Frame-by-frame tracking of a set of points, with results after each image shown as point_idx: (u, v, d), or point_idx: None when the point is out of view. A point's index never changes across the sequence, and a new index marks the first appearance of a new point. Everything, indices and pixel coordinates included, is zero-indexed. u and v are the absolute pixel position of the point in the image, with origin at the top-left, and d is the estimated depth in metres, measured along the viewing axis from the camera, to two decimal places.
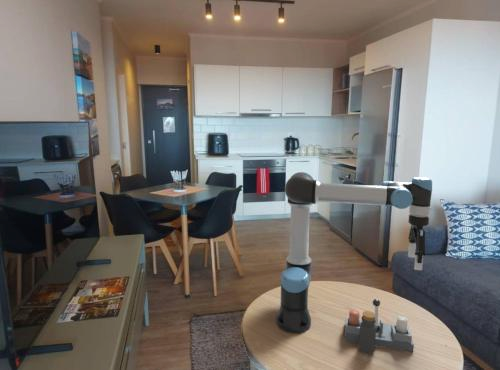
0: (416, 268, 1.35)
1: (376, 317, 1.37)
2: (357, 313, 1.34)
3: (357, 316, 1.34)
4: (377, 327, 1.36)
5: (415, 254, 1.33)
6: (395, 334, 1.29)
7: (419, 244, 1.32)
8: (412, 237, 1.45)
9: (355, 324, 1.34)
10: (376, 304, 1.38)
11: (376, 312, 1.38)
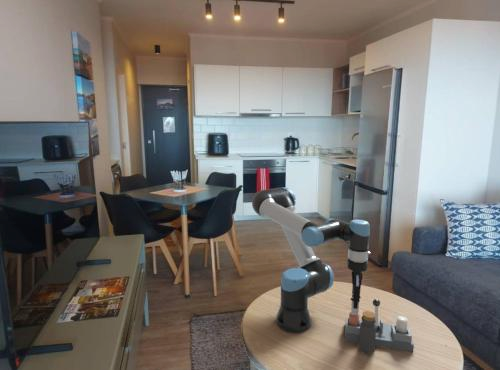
0: (353, 313, 1.35)
1: (376, 317, 1.37)
2: None
3: (357, 318, 1.34)
4: (377, 327, 1.36)
5: None
6: (395, 334, 1.29)
7: (354, 293, 1.29)
8: None
9: None
10: (376, 304, 1.38)
11: (376, 312, 1.38)
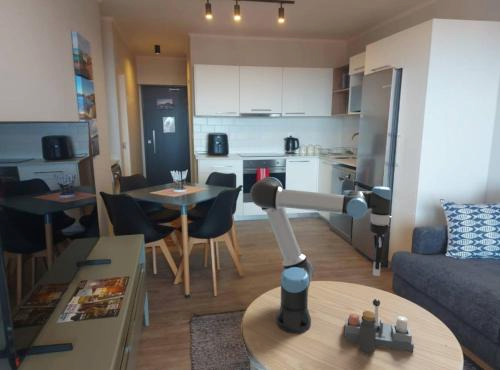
0: (374, 274, 1.45)
1: (376, 317, 1.37)
2: (357, 317, 1.35)
3: (357, 320, 1.34)
4: (377, 327, 1.36)
5: (373, 261, 1.44)
6: (395, 334, 1.29)
7: (377, 254, 1.40)
8: None
9: None
10: (376, 304, 1.38)
11: (376, 312, 1.38)
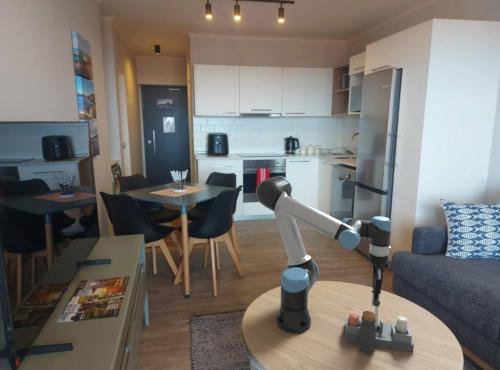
0: None
1: (376, 317, 1.37)
2: (357, 317, 1.35)
3: (357, 320, 1.34)
4: (377, 327, 1.36)
5: None
6: (395, 334, 1.29)
7: (376, 286, 1.37)
8: None
9: None
10: (376, 304, 1.38)
11: (376, 312, 1.38)
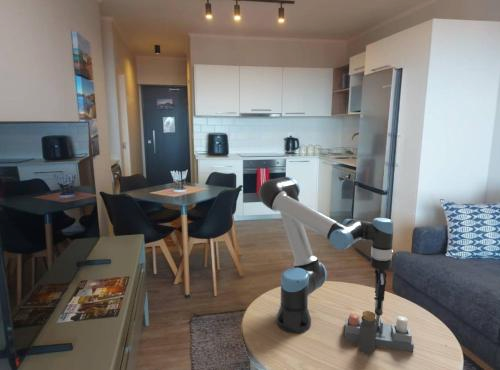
0: None
1: (377, 322, 1.34)
2: (357, 317, 1.35)
3: (357, 320, 1.34)
4: (377, 328, 1.36)
5: None
6: (395, 334, 1.29)
7: (379, 292, 1.28)
8: (377, 286, 1.33)
9: None
10: (378, 315, 1.31)
11: (377, 319, 1.33)
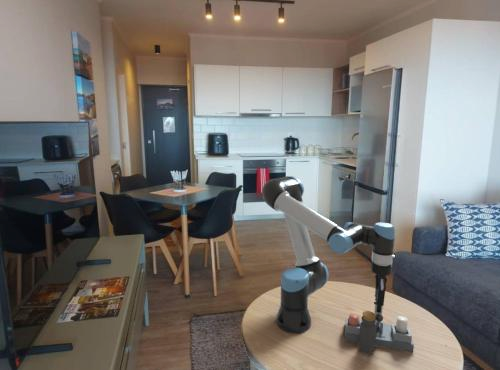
0: None
1: (377, 325, 1.33)
2: (357, 317, 1.35)
3: (357, 320, 1.34)
4: (377, 329, 1.36)
5: (374, 303, 1.32)
6: (395, 334, 1.29)
7: (378, 297, 1.28)
8: (377, 291, 1.32)
9: None
10: None
11: (377, 323, 1.32)
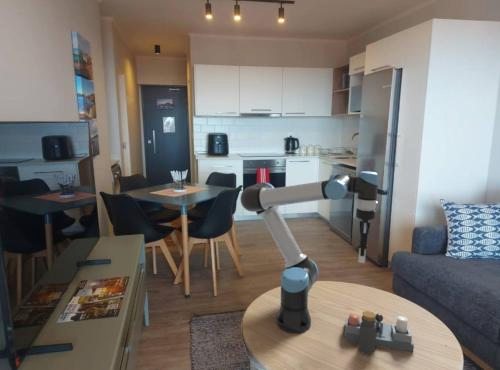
0: (359, 261, 1.42)
1: (377, 325, 1.33)
2: (357, 317, 1.35)
3: (357, 320, 1.34)
4: (377, 329, 1.36)
5: None
6: (395, 334, 1.29)
7: (361, 240, 1.37)
8: None
9: None
10: None
11: (377, 323, 1.32)
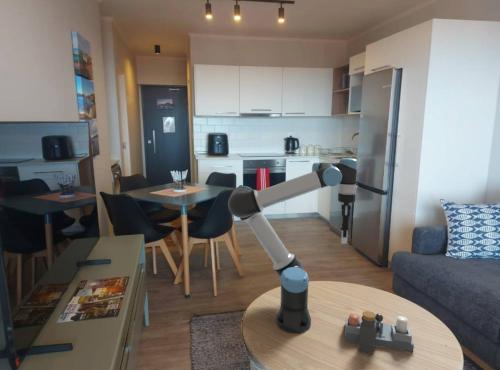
0: (342, 242, 1.52)
1: (377, 325, 1.33)
2: (357, 317, 1.35)
3: (357, 320, 1.34)
4: (377, 329, 1.36)
5: (340, 229, 1.51)
6: (395, 334, 1.29)
7: (343, 222, 1.47)
8: None
9: None
10: None
11: (377, 323, 1.32)
